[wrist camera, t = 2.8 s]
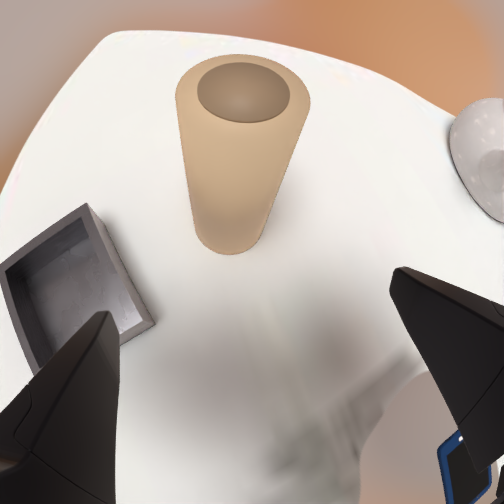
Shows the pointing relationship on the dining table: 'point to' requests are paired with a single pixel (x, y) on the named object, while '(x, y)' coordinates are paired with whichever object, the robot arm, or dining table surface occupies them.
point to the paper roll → (237, 143)
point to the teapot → (481, 153)
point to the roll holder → (68, 286)
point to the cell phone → (461, 472)
